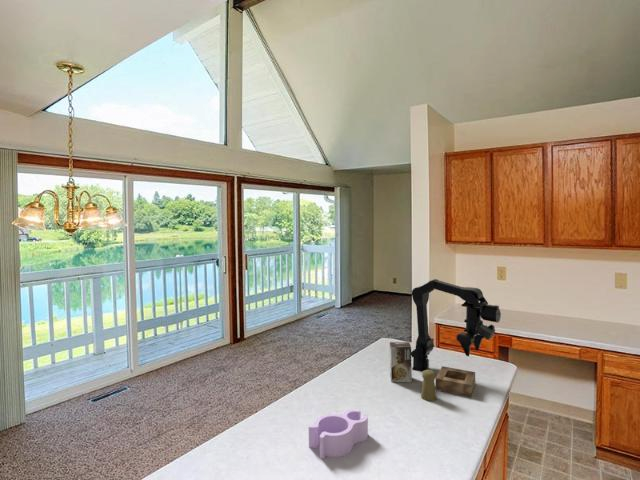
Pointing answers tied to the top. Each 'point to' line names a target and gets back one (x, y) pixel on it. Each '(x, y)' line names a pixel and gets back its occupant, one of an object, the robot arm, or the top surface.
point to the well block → (455, 381)
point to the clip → (338, 432)
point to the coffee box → (400, 362)
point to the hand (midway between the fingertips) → (472, 353)
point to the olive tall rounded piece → (428, 386)
